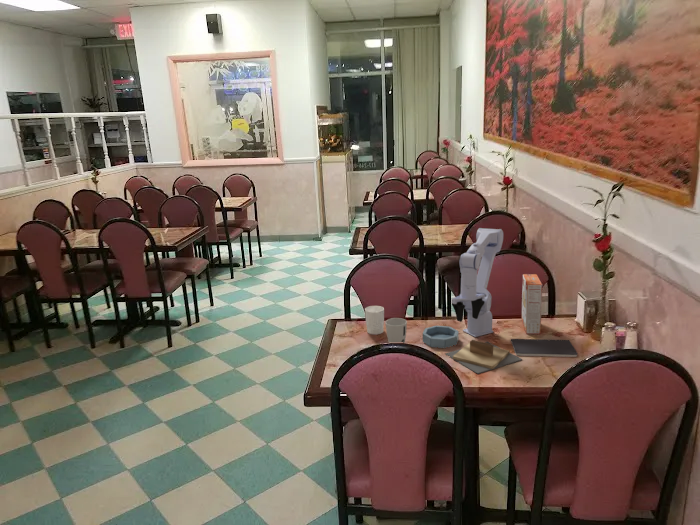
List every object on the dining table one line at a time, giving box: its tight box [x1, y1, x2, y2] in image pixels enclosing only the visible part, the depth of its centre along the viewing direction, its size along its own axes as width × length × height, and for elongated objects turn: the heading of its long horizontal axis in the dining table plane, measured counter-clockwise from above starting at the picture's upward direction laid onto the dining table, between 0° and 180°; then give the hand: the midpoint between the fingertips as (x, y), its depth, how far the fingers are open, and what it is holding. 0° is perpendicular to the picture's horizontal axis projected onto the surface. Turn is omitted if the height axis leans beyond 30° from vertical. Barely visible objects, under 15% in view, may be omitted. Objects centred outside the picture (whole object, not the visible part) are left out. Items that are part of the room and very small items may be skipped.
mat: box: [444, 341, 523, 375], centre depth 182 cm, size 20×18×1 cm
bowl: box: [422, 325, 459, 349], centre depth 197 cm, size 13×13×4 cm
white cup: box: [364, 305, 385, 335], centre depth 208 cm, size 8×8×10 cm
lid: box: [452, 339, 511, 370], centre depth 181 cm, size 15×15×5 cm
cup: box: [384, 317, 408, 344], centre depth 194 cm, size 8×8×10 cm
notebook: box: [510, 338, 578, 358], centre depth 186 cm, size 13×2×21 cm
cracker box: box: [521, 273, 543, 335], centre depth 203 cm, size 14×6×21 cm, turn 169°
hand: (467, 319), depth 192 cm, fingers open, 7 cm apart
